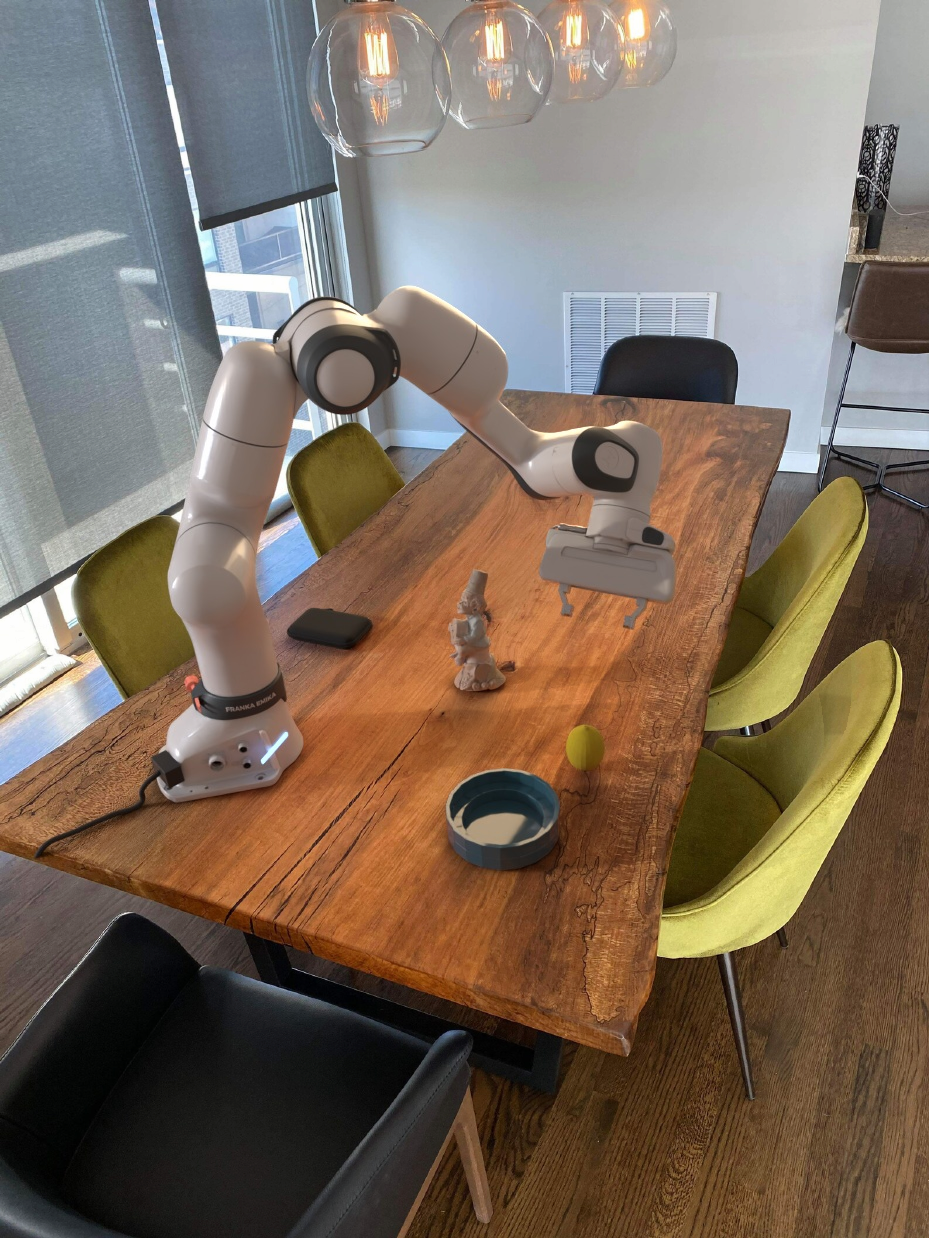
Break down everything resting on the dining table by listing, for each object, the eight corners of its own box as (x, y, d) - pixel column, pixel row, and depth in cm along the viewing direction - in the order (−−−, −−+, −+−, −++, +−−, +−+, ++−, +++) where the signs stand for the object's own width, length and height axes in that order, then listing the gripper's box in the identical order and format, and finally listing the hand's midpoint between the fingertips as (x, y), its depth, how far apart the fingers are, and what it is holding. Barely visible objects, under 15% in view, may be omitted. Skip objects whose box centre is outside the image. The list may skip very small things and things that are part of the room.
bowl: (474, 887, 116) (472, 862, 114) (431, 813, 128) (429, 788, 126) (580, 849, 121) (580, 823, 118) (528, 780, 133) (528, 756, 130)
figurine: (494, 662, 159) (489, 561, 149) (511, 688, 152) (506, 584, 142) (445, 674, 157) (436, 571, 147) (460, 700, 150) (451, 595, 140)
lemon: (606, 759, 136) (607, 716, 131) (600, 784, 131) (601, 740, 127) (569, 755, 137) (569, 712, 133) (562, 779, 132) (562, 735, 128)
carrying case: (380, 625, 172) (313, 613, 178) (378, 611, 171) (311, 600, 176) (352, 655, 164) (283, 641, 170) (350, 641, 163) (281, 627, 168)
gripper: (545, 516, 136) (525, 606, 136) (682, 538, 130) (662, 633, 129) (554, 526, 142) (535, 612, 141) (686, 547, 136) (666, 638, 135)
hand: (596, 622), depth 135 cm, fingers open, 8 cm apart
